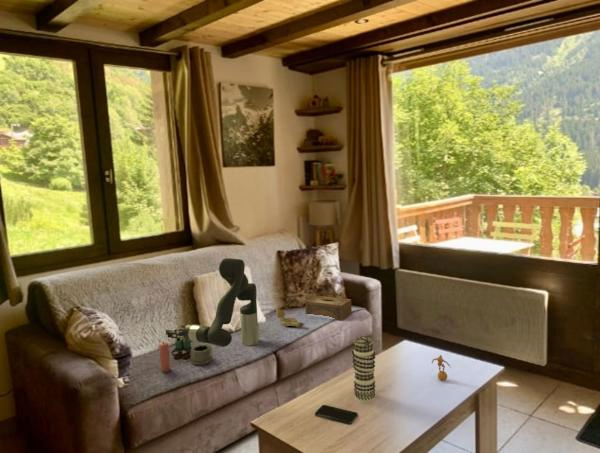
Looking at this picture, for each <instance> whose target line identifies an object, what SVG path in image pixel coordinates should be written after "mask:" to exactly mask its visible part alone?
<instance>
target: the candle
mask: <svg viewBox="0 0 600 453" xmlns="http://www.w3.org/2000/svg"><path fill="white" fill-rule="evenodd" d="M158 350H159V360H160V361H159V362H160V372H161V373H167V371H168V372H169V370H170V369H171V359H170V349H169V342H165V341H163V342H160V343H159V344H158ZM170 371H171V370H170Z"/></svg>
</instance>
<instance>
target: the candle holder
mask: <svg viewBox="0 0 600 453" xmlns="http://www.w3.org/2000/svg"><path fill="white" fill-rule="evenodd" d="M191 347H192V349H191V350H190V352H191V355H190V364H191V365H193V366H204V365H208V364H211V363H212V362H213V361H214V356H213V350H212V349H213V348H212V346H211V345H209V344H199V345H195V346H191Z"/></svg>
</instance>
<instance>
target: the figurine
mask: <svg viewBox="0 0 600 453" xmlns="http://www.w3.org/2000/svg"><path fill="white" fill-rule="evenodd" d="M434 361H437V366H438V370H439V372H438V374H437V378H438V380H439V381H441V382H444V381H447V379H448V374H447V372H446V371H444V370H445V368H446V366H445V364H446V365H448V366H449V367H450V368H452V366H451V364H449V362H448V361H446V360H444V359H443V356H442V354H440V355H439V356H438V357H436V358H433V359H432V361H431V364H433V363H434ZM443 362H444V363H445V364H444V363H443ZM441 367H442V370H441Z"/></svg>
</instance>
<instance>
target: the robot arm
mask: <svg viewBox="0 0 600 453" xmlns="http://www.w3.org/2000/svg"><path fill="white" fill-rule="evenodd" d="M245 266H246V265H245V261H244V260H243V259H240V258H239V259H238V258H229V257H228V258H227V257H226V258H222V260H221V261H220V262H219V265H218V272H219V274H220V275H219V276H220V277H221V278H222V279H223V280H224V281H226V282H227V283H228V284H229V286H230V287H229V288H228V290H227V291H226V292H225V293H224V294H223V296H222V297H221V298H220V299H219V301H218V303H217V307H216V312H215V317H214V319H213V321H212V324H210V326H206V325H201V324H195V323H189V324H187V325H181V326H180V328H176V329H173V330H172V329H166V330H165V335H166V336H167V338H170V339H176V338H177V337H180V338H183V339H184V338H185V339H186V340H187V341H190V342H194V343H203V344H210V345H214V346H218V347H221V348H222V347H223V348H224V347H227V346H229V345H230V344H231V343H232V340H233V336H232V334H231V332H230V331H228V330H226V329H224V328H223V326H224V325H230V324H231V322H232V317H233V314H234V313H233V312H234V309H235V308H234V307H235V303H236V300H237V299H238V301H243V302H244V301H247V302H248V301H250V302H249V303H247V304H245V305H242V306H241V307H240V309H239V313H240V315H239V316H240V331H241V334H240V335H241V344H242V345H244V346H255V345H258V344H259V342H260V326H259V323H258V322H259V321H258V303H257V300H258V298H257V285H256V283H252V282H249V278H248V277H247V275H246V273H245V269H246V268H245Z"/></svg>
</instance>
